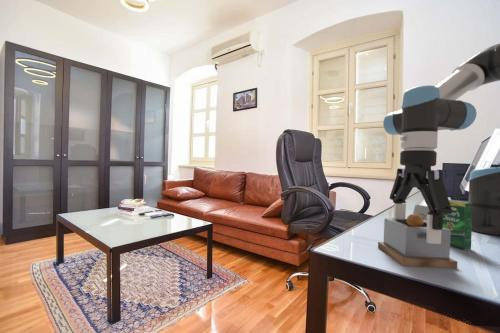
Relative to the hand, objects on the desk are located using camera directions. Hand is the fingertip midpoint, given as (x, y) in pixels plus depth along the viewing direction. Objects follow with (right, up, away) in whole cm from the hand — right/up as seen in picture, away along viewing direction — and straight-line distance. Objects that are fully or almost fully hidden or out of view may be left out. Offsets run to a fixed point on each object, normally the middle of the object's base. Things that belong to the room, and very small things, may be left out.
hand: (414, 234), depth 61 cm
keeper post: (0, -6, 0) cm, 6 cm away
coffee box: (+18, -6, +10) cm, 22 cm away
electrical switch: (+20, -6, +23) cm, 31 cm away
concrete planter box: (0, -4, 0) cm, 4 cm away
